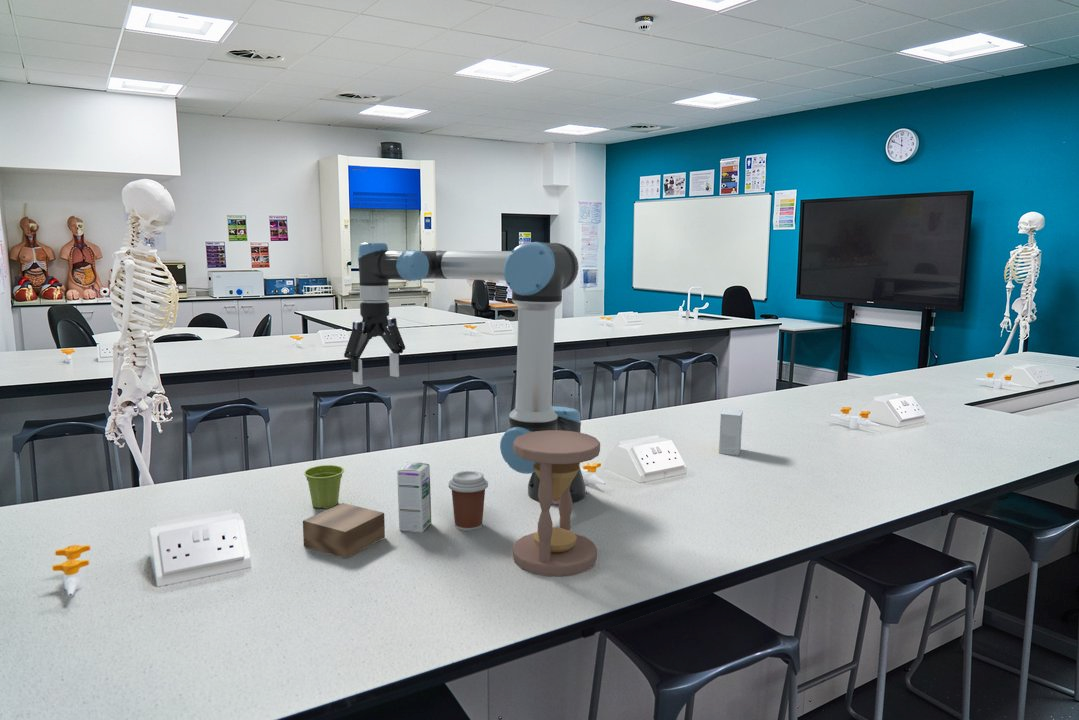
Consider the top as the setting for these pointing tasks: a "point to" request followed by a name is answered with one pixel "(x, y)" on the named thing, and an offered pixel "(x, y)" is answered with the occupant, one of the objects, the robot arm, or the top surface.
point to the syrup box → (414, 497)
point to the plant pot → (324, 485)
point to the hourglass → (556, 470)
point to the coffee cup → (468, 499)
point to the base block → (343, 530)
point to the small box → (730, 431)
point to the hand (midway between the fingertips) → (376, 380)
